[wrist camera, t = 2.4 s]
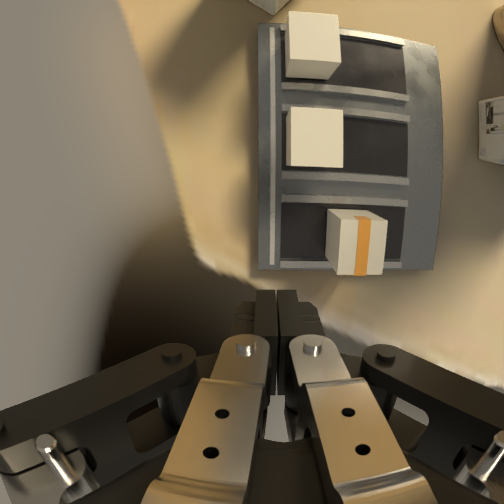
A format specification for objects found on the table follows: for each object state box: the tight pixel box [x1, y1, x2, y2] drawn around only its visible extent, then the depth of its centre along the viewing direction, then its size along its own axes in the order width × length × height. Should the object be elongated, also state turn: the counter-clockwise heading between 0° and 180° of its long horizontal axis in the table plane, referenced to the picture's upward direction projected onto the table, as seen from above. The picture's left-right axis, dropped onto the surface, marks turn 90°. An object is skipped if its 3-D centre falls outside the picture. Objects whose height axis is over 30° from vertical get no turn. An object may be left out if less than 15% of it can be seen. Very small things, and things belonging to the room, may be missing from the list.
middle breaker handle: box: [286, 107, 343, 168], centre depth 22 cm, size 4×4×5 cm
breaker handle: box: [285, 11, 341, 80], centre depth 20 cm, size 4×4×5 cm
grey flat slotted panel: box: [258, 23, 443, 270], centre depth 25 cm, size 17×22×2 cm
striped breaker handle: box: [325, 209, 388, 276], centre depth 24 cm, size 4×4×5 cm
